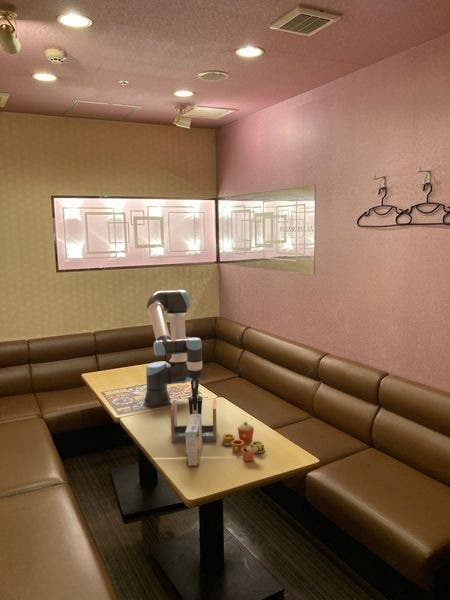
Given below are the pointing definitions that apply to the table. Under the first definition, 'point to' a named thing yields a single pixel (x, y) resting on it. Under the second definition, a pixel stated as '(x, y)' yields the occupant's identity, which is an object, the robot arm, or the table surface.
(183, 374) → the robot arm
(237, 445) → the toy tea set
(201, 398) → the drinking cup
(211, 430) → the two-post stand
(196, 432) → the snack box
